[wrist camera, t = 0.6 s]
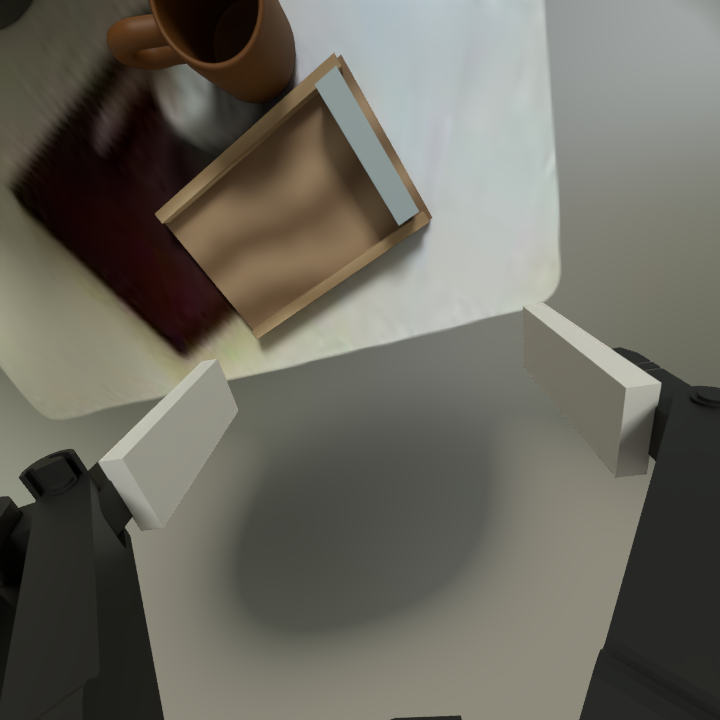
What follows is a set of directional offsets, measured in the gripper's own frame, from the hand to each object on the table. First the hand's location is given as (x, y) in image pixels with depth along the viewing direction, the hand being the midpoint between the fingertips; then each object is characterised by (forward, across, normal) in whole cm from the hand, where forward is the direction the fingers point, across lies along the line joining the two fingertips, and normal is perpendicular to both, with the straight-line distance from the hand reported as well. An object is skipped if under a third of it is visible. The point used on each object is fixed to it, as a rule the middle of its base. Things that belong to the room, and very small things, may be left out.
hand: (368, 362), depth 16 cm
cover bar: (+23, +1, +9) cm, 25 cm away
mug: (+25, -9, +19) cm, 32 cm away
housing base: (+24, -7, +6) cm, 26 cm away
